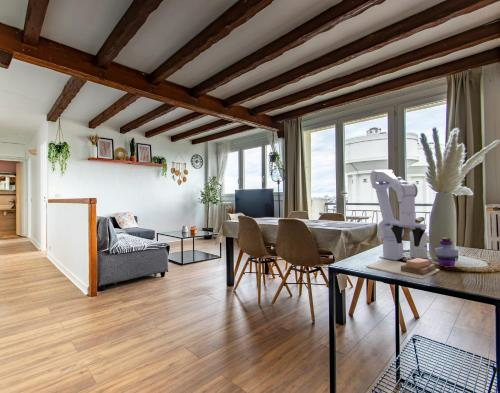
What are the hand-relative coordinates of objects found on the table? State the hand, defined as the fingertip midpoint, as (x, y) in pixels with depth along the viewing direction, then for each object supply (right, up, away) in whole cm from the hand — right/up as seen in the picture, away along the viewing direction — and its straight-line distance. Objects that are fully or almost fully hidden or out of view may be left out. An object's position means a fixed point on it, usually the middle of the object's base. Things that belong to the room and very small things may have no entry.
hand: (407, 244), depth 116 cm
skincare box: (+14, -9, +15) cm, 23 cm away
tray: (0, -9, -7) cm, 11 cm away
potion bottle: (+16, -9, -1) cm, 18 cm away
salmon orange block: (0, -9, -7) cm, 11 cm away
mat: (-4, -10, -2) cm, 11 cm away
